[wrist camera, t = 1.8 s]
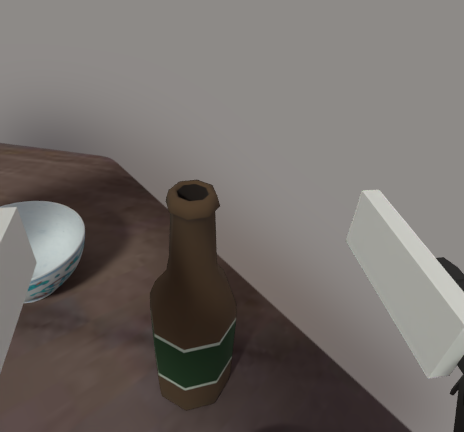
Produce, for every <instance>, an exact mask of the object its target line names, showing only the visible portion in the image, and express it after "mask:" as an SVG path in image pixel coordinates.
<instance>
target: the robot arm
mask: <svg viewBox="0 0 464 432" xmlns="http://www.w3.org/2000/svg"><path fill="white" fill-rule="evenodd" d="M346 242H347V244H348V246H349V247H350V249H351V251H352V252H353V254H354V256H355V257H356V259H357V261H358V262H359V264H360V266H361V267H362V269H363V271H364V272H365V274H366V276H367V277H368V279H369V281H370V283H371V284H372V286H373V288H374V289H375V291H376V293H377V294H378V296H379V298H380V299H381V301H382V303H383V304H384V306H385V308H386V309H387V311H388V313H389V315H390V316H391V318H392V320H393V321H394V323H395V325H396V326H397V328H398V330H399V331H400V333H401V335H402V336H403V338H404V340H405V341H406V343H407V345H408V347H409V348H410V350H411V351H412V353H413V355H414V357H415V358H416V360H417V362H418V363H419V365H420V367H421V368H422V370H423V372H424V373H425V375H426V377H427V378H428V379H430V378H437V377H443V376H449V375H450V374H451V373H452V371H453V370H454V368H455V367H456V366H457V365H458V367H459V368H460V370H461V371H462V373H463V376H462V377H461V378H460V379H459V381H458V382H457V383H456V384H455V386H454V387H453V388H452V390H451V392H450V394H451V395H454V394H455V393H456V391H457V390H458V400H457V407H456V416H455V424H454V432H464V274H463V273H462V272H461V271H460V269H459V268H458V267H456V266H455V265H453V264H452V263H451V262H449V261H448V260H446V259H445V258H444V257H442V258H435V257H434V256H433V254H431V252H430V251H429V250H428V248H427V247H426V246H425V245H424V243H423V242H422V241H421V240H420V239H419V237H417V235H416V234H415V233H414V231H413V230H412V229H411V228H410V226H409V225H408V224H407V223H406V222H405V220H404V219H403V218H402V217H401V216H400V215H399V213H398V212H397V211H396V210H395V208H394V207H393V206H392V205H391V203H389V201H388V200H387V199H386V197H385V196H384V195H383V194H382V193H381V191H380V190H364V191H362V192H361V195H360V198H359V201H358V204H357V208H356V211H355V214H354V217H353V220H352V223H351V226H350V230H349V233H348V236H347V239H346ZM36 264H37V262H36V259H35V256H34V254H33V251H32V248H31V245H30V242H29V240H28V237H27V234H26V231H25V228H24V226H23V223H22V220H21V217H20V214H19V212H18V209H17V207H6V208H0V373H1V369H2V366H3V363H4V360H5V357H6V354H7V351H8V348H9V345H10V342H11V339H12V336H13V333H14V330H15V327H16V324H17V321H18V318H19V315H20V312H21V309H22V306H23V303H24V300H25V297H26V294H27V291H28V288H29V285H30V282H31V279H32V276H33V273H34V270H35V267H36Z"/></svg>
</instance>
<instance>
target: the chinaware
mask: <svg viewBox="0 0 464 432" xmlns="http://www.w3.org/2000/svg"><path fill="white" fill-rule="evenodd" d="M6 207H17V209H18V212H19V214H20V217H21V220H22V223H23V226H24V228H25V231H26V234H27V237H28V240H29V242H30V245H31V248H32V251H33V254H34V256H35V259H36V262H37V264H36V267H35V270H34V273H33V276H32V279H31V282H30V285H29V288H28V291H27V294H26V297H25V300H24V303H31V302H35V301H38V300H41V299H43V298H45V297H47V296H49V295H50V294H52V293H53V292H54V291H55V290H56V289H57V288H58V287H59V286H61V285H62V284H63V283H64V282H65V281H66V280H67V279H68V278H69V277H70V276H71V274H72V273H73V272H74V270H75V269H76V267H77V265H78V263H79V261H80V258H81V256H82V252H83V248H84V242H85V226H84V223H83V220H82V218H81V217H80V216H79V214H78V213H77V212H75V211H74V210H73V209H71V208H69V207H67V206H65V205H62V204H59V203H54V202H48V201H25V202H18V203H12V204H8V205H4V206H0V208H6Z"/></svg>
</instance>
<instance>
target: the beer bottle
mask: <svg viewBox="0 0 464 432" xmlns="http://www.w3.org/2000/svg"><path fill="white" fill-rule="evenodd" d="M166 203H167V206H168V210H169V213H170V242H169V259H168V264H167V270H166V271H165V272H164V273H163V274H162V275H161V276H160V277H159V278H158V279H157V280H156V281H155V283H154V285H153V287H152V290H151V292H150V310H151V320H152V329H153V338H154V347H155V356H156V364H157V370H158V377H159V384H160V389H161V394H162V396H163V397H165V398H166V399H168V400H170V401H171V402H173V403H174V404H176V405H178V406H179V407H181V408H183V409H184V410H190V409H194V408H198V407H201V406H205V405H209V404H213V403H215V401H216V400H217V398H218V396H219V395H220V393H221V391H222V389H223V388H224V386H225V384H226V383H227V381H228V379H229V375H230V370H231V361H232V352H233V343H234V334H235V325H236V302H235V299H234V296H233V294H232V291H231V288H230V286H229V283H228V280H227V278H226V275H225V273H224V271H223V269H222V268H221V267H219V266H218V265H217V253H216V225H215V224H216V223H215V211H216V210H217V208H219V207H220V204H219V201H218V197H217V195H216V192H215V190H214V188H213V186H212V185H210V184H208V183H204V182H202V181H199V180H190V181H181V182H178V183H177V184H176V185H174V186H173V187H172V188H171V189H169V191H168V194H167V197H166Z"/></svg>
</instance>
